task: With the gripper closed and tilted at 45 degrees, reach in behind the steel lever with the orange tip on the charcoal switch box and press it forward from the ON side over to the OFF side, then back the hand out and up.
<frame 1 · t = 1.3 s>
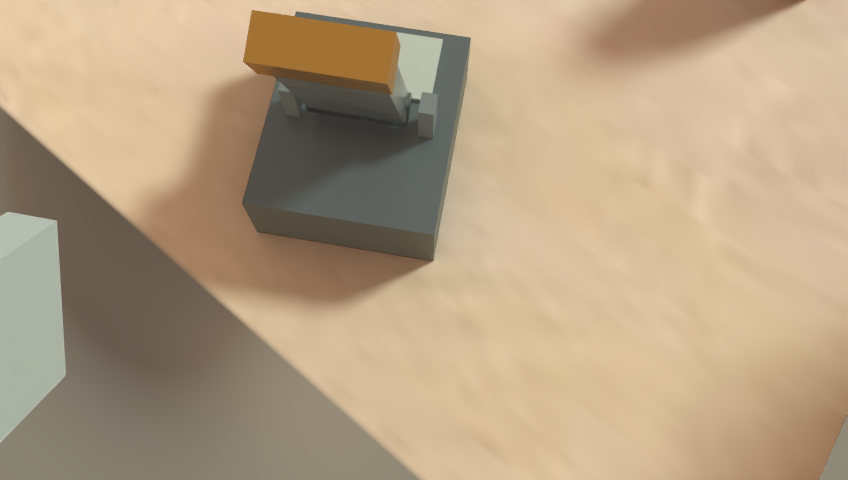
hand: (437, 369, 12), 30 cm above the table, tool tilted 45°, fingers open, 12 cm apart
switch box: (366, 151, 46), on the table
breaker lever: (343, 81, 36), point 10 cm above the table, hinge at -20.0°
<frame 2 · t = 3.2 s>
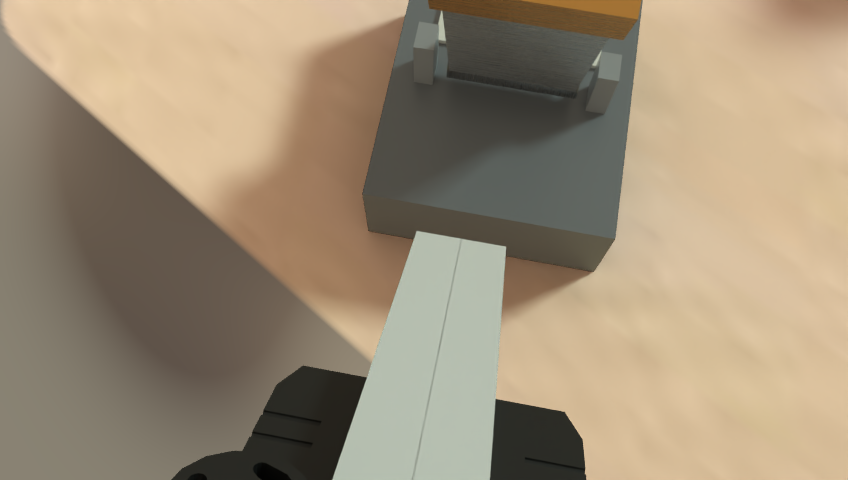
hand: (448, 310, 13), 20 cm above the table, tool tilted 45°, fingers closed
switch box: (501, 131, 37), on the table
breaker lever: (522, 29, 27), point 10 cm above the table, hinge at -20.0°
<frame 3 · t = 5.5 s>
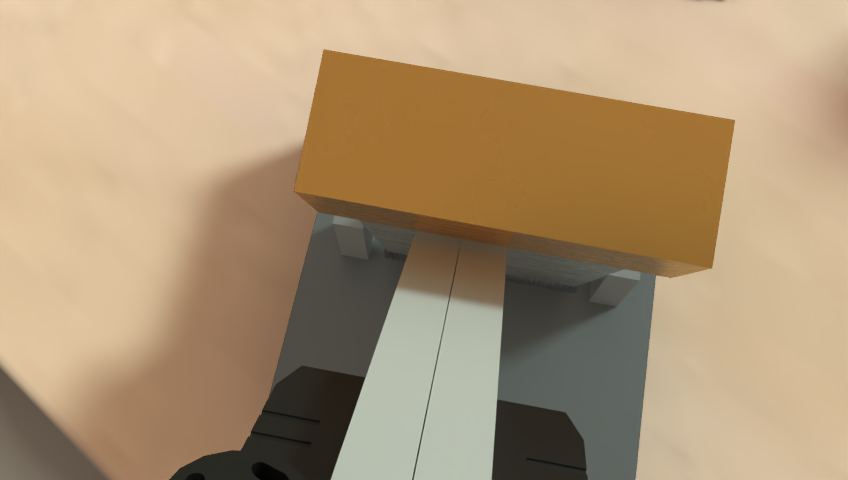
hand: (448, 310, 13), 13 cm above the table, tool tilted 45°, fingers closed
switch box: (472, 299, 27), on the table
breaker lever: (493, 217, 16), point 10 cm above the table, hinge at -14.1°, touching gripper
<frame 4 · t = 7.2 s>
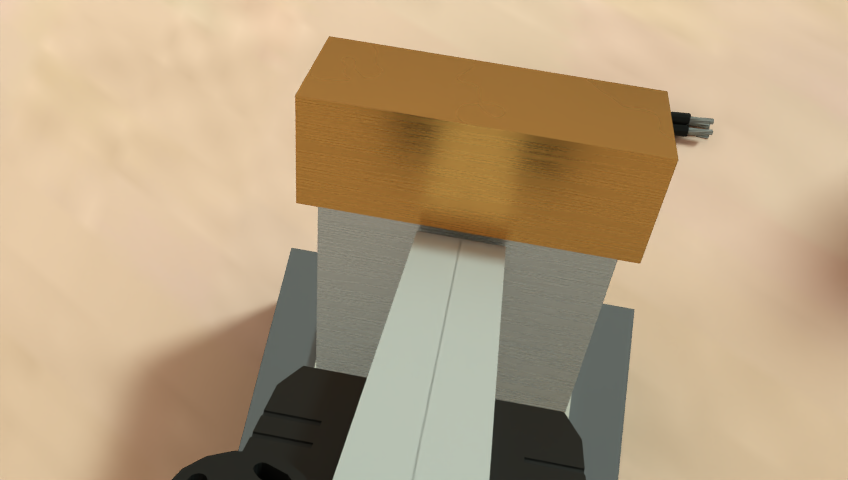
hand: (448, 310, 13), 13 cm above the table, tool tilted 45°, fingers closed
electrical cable: (541, 114, 30), on the table
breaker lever: (446, 351, 16), point 10 cm above the table, hinge at 29.4°, touching gripper
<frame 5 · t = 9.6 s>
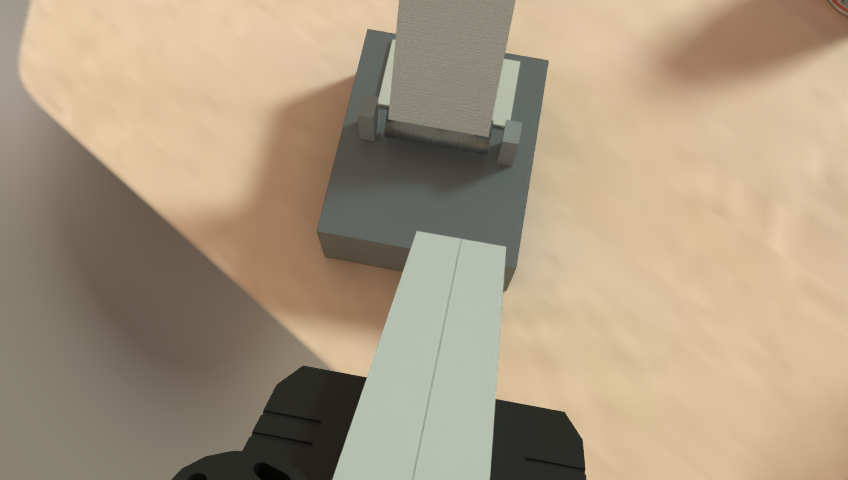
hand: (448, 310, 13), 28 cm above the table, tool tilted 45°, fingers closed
switch box: (435, 174, 45), on the table
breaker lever: (452, 36, 36), point 10 cm above the table, hinge at 29.5°
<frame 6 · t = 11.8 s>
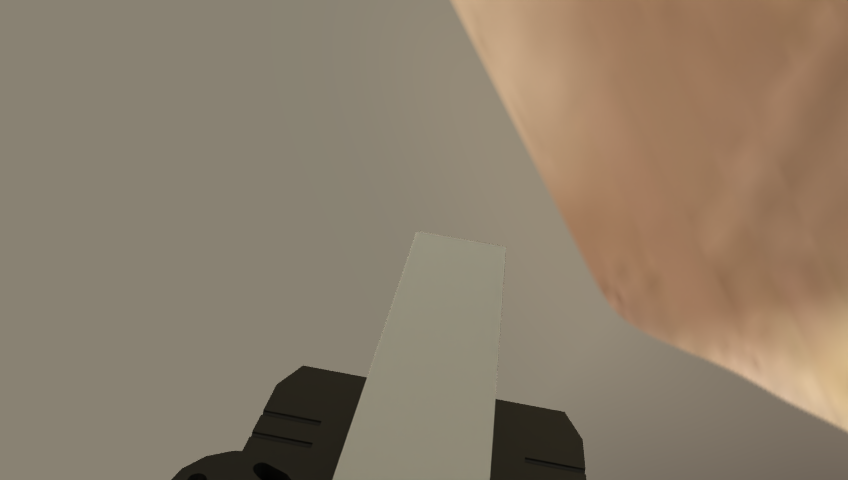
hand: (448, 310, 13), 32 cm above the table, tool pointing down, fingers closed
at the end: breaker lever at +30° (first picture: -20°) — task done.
